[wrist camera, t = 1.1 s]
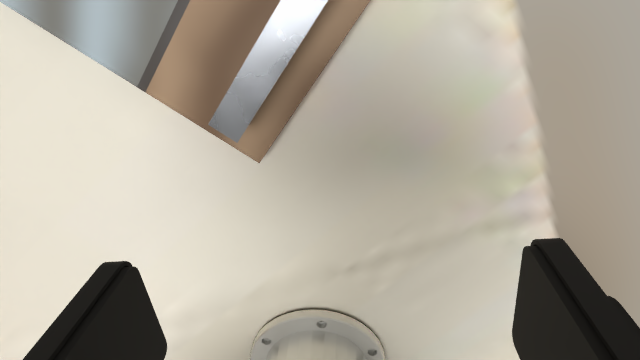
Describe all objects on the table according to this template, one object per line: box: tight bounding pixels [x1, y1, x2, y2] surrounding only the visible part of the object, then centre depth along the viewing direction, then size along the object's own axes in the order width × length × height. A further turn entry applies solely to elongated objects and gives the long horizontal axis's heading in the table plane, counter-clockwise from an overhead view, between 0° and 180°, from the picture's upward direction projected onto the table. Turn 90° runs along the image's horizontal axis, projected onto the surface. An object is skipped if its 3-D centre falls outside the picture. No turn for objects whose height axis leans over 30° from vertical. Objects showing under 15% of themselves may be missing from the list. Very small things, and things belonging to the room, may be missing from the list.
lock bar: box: [208, 0, 328, 143], centre depth 23 cm, size 14×3×3 cm, turn 146°
